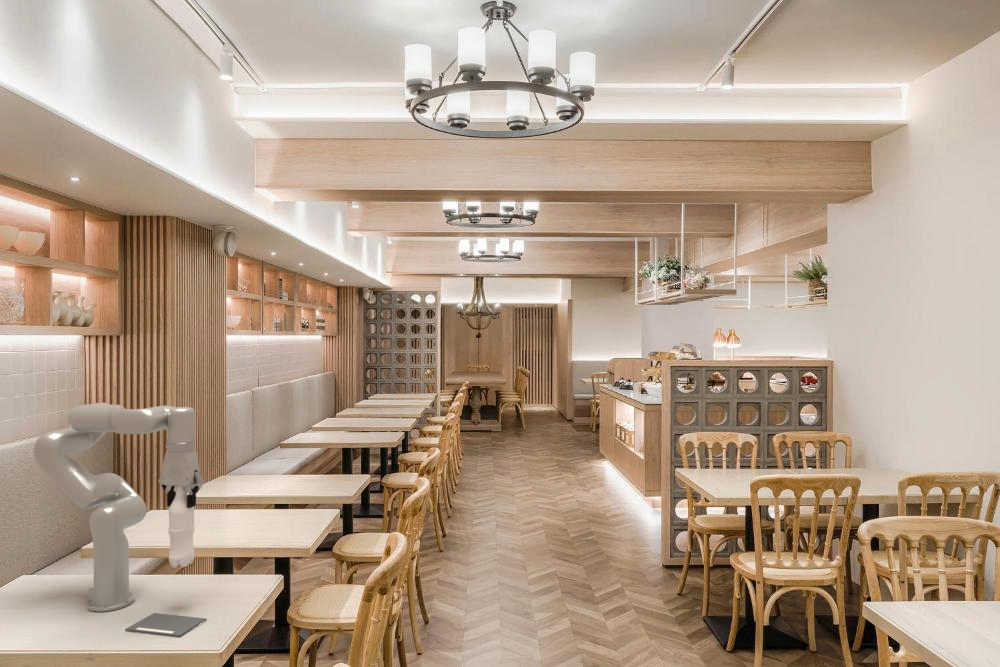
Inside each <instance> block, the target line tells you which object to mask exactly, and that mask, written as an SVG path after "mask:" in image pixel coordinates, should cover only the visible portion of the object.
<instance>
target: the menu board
mask: <svg viewBox="0 0 1000 667" xmlns="http://www.w3.org/2000/svg"><path fill="white" fill-rule="evenodd" d="M205 620H206V621H207V618H205V617H197V616H196V617H195V616H185V615H177V614H169V613H159V612H158V613H157V612H153V613H151V614H150V615H147V616H146V617H144V618H142V619H141V620H139V621H137V622H135V623H133V624H132V625H129V626H128V627H126V628H125V629H124V630H125V632H131V633H137V632H139V633H140V634H146V633H149V634H148V635H157V636H165V637H175V638H181V637H183V636H185V635H186V634H188V633H190V632H191V631H193V630H194V629H195V628H194V627H196V626H197V627H199V626H200V625H201V624H200V623H202V622H203V621H205ZM206 621H205V622H206ZM203 623H204V622H203ZM203 623H202V624H203ZM199 624H200V625H199ZM198 625H199V626H198ZM197 627H196V628H197ZM193 628H194V629H193ZM190 630H191V631H190ZM187 632H188V633H187ZM184 634H185V635H184Z"/></svg>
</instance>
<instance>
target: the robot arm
mask: <svg viewBox="0 0 1000 667" xmlns="http://www.w3.org/2000/svg"><path fill="white" fill-rule="evenodd" d="M195 412H196V411H195V409H194V408H193V407H191V406H179V407H178V406H177V407H176V406H171V405H159V406H151V407H146V408H136V409H135V408H133V409H132V408H130V409H129V408H127V409H126V408H125V407H124V406H123V405H121V404H109V403H107V402H95V403H90V404H89V403H87V404H82V405H81V404H80V405H78V406H75V407H74V408H72V409H71V410H70V412H69V413H68V415H67V419H66V420H67V421H66V422H67V424H68V426H69V427H68V428H67V427H66V428H61V429H57V430H56V429H55V430H52V431H48V432H46V433H44V434H42V435H41V436H39V437H38V439H37V440H36V441H35V443H34V446H33V458H34V461H35V463H36V465H37V466H38V468H39V469H40V470H41V471H42V473H44V474H45V475H46V476H48V477H49V478H50V479H51V480H52V481H54V482H55V484H57V486H58V487H59V488H60V489H61V490H62V491H63V492H64V493H65V494H66V496H68V497H69V499H70V500H71V501H73V503H74V504H75V505H76V506H77V507H79V508H80V509H82V510H83V509H84V510H89V509H94V508H95V509H94V510H93V511H92V512H91V514H90V516H89V529H90V532H91V537H92V547H93V548H92V549H93V550H92V551H93V553H92V554H93V587H89V588H88V589H87V591H86V592H84V595H85V597H86V598H87V597H89V598H90V601H89V602H88V603H87V609H88V610H89V611H91V612H95V611H96V612H97V613H98V612H99V613H100V612H101V613H103V612H111V611H115V610H116V611H117V610H120V609H123V608H124V607H127V606H129V605H131V604H132V603H134V602H135V598H136V597H135V594H133V593H131V592H130V573H129V572H130V570H129V569H130V551H129V549H130V548H129V547H130V546H129V545H130V544H129V540H128V537H127V536H126V534H125V532H124V530H125V529H127V528H129V527H132V526H134V525H137V524H139V523H140V522H142V521H143V520H144V518H145V517H146V515H147V506H146V503H145V501H144V500H143V498H142V497H141V496H140V495H139V494H138V493H137V491H135V489H134V488H132V486H130V484H129V483H128V482H127V481H126V480H125V479H124V478H123V477H122V476H120V475H118V474H115V473H113V472H106V473H105V472H103V473H100V474H98V475H95V474H92V473H91V472H90V471H89V470H88V469H87V468H86V467H85V466H84V465H83V464H82V463H80V462H79V461H77V460H75V459H73V458H71V457H69V455H74V454H79V453H82V452H86V451H88V450H89V449H91V448H92V447H93V446H94V445H95V444H97V443H98V442H99V441H100V439H101V438H102V437H104V435H105V434H106V433H115V434H119V435H146V434H151V433H157V432H160V431H166V430H167V443H166V444H165V448H167V452H165V453H164V458H163V463H162V472H161V477H159V479H158V481H157V482H158V483H159V484H160V485H161V487H162V489H163V490H164V493H165V494H166V505H167V506H166V507H168V508H170V506H171V504H172V502H173V500H174V498H175V496H176V492H175V491H176V486H182V487H187V490H188V491H187V494H188V495H187V508H191V507H194V508H195V507H196V506H197V493H199V490H201V489H202V487H203V486H204V485H205V483H206V481H205V480H204V478H203V477H202V476H201V475H200V467H199V466H200V465H199V458H198V453H197V451H196V414H195Z"/></svg>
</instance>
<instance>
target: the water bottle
mask: <svg viewBox="0 0 1000 667" xmlns="http://www.w3.org/2000/svg"><path fill="white" fill-rule="evenodd" d="M174 491H175V492H176V496H175V498H174V500H173V502H172V504H171V506H170V507H168V535H169V541H170V542H169V543H170V544H169V552H168V561H169V564H170V566H171V567H172V568H173V569H174V568H177V567H178V566H180V568H186V567H187V566H189V565H191V564H193V562H194V561H195V560H194V559H195V552H196V551H195V548H194V533H195V506H194V507H191V508H187V495H189V493H188V490H187V487H182V486H176V488H175V490H174Z"/></svg>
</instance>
